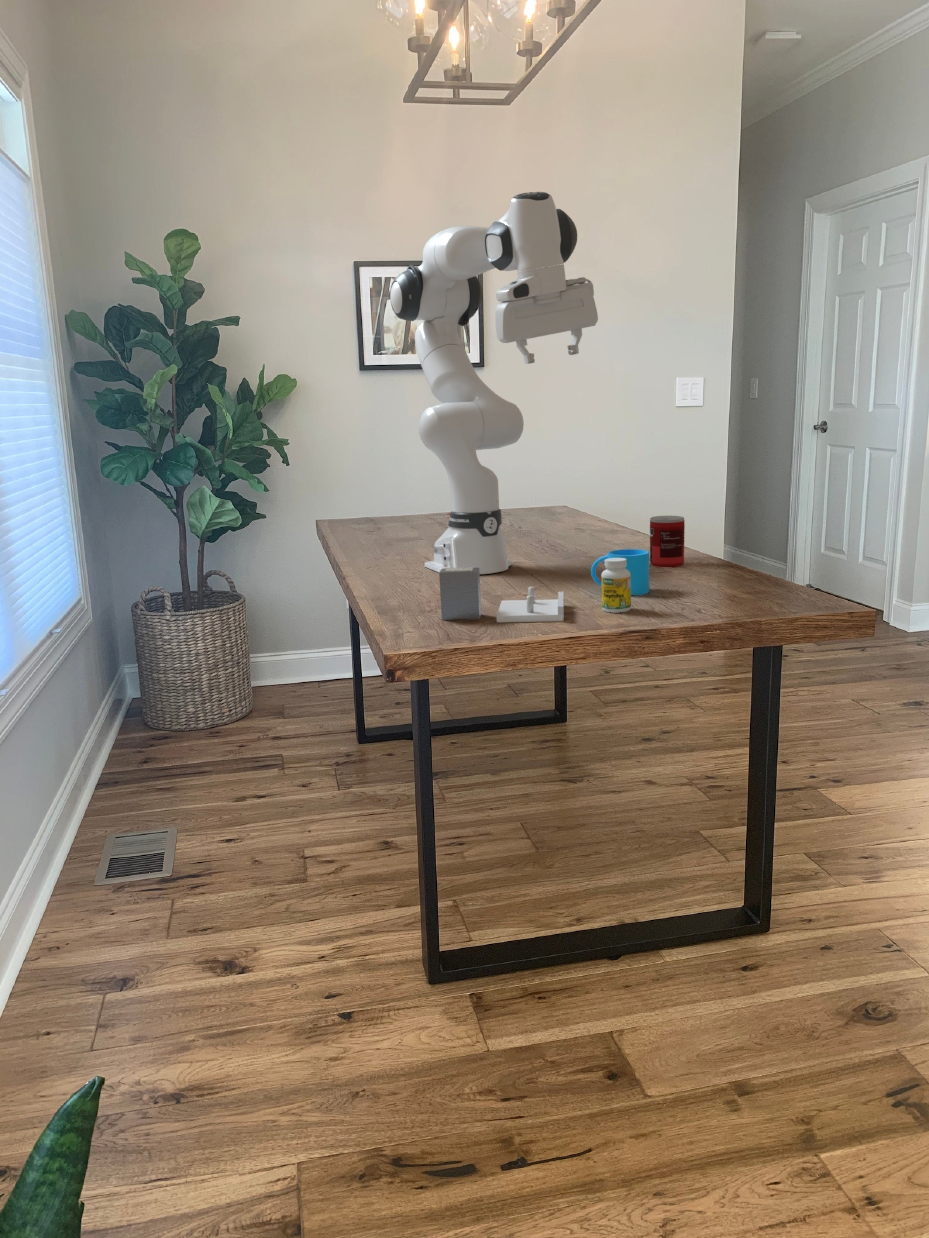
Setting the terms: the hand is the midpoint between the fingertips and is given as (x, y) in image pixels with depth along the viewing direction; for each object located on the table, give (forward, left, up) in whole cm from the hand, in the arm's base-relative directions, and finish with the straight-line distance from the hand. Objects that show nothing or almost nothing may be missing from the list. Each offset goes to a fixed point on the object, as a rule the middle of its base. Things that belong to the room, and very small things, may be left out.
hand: (551, 358), depth 180 cm
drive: (+5, -27, -46) cm, 54 cm away
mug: (+9, +9, -47) cm, 48 cm away
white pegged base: (+12, -16, -46) cm, 50 cm away
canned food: (-5, +37, -47) cm, 60 cm away
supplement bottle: (+21, -3, -47) cm, 51 cm away
